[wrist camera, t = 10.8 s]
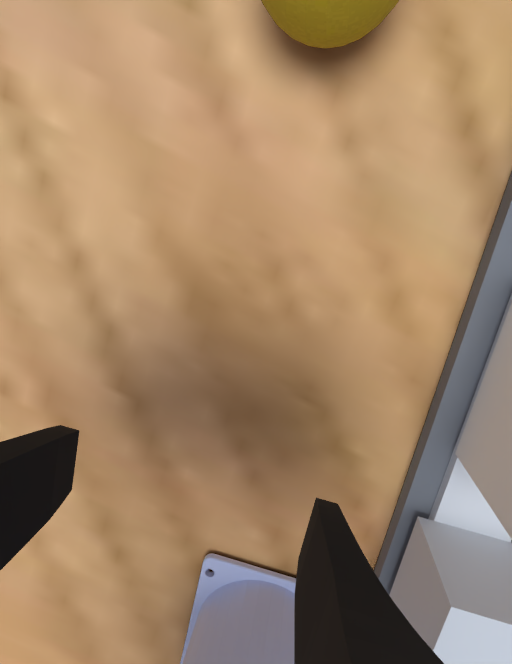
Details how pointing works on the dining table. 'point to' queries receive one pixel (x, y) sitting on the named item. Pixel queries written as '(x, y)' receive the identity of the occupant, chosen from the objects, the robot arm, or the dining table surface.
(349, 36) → the lemon
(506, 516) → the block
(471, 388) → the board
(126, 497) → the dining table surface
